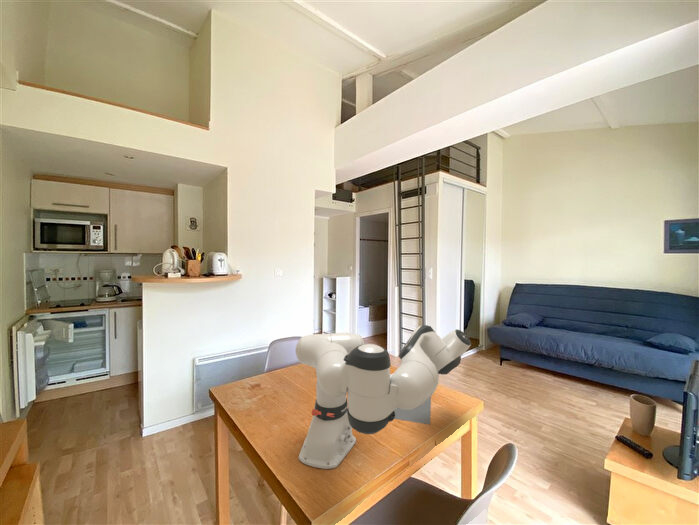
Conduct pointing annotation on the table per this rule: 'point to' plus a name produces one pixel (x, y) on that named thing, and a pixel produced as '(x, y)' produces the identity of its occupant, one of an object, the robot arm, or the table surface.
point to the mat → (415, 413)
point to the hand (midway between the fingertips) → (420, 373)
